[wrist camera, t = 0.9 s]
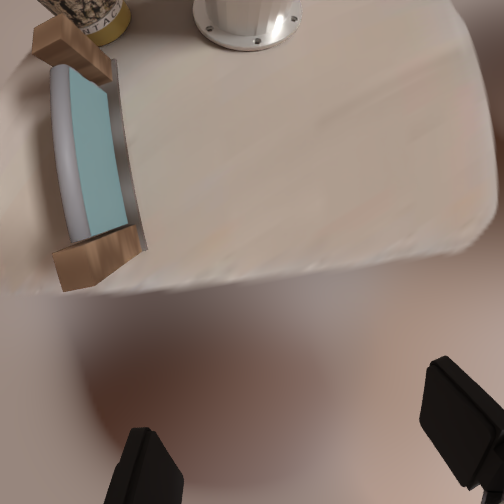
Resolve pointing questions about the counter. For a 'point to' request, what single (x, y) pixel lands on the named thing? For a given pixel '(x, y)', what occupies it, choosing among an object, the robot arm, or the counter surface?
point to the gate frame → (106, 77)
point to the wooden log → (94, 17)
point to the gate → (84, 155)
